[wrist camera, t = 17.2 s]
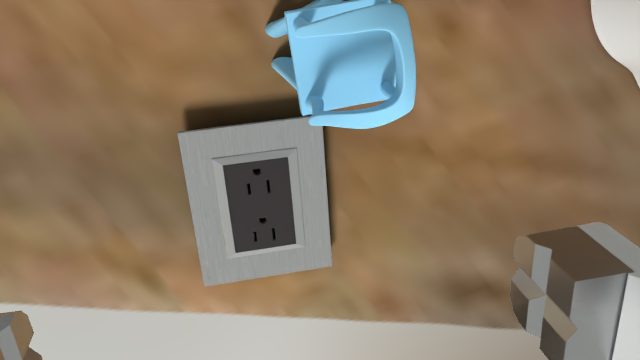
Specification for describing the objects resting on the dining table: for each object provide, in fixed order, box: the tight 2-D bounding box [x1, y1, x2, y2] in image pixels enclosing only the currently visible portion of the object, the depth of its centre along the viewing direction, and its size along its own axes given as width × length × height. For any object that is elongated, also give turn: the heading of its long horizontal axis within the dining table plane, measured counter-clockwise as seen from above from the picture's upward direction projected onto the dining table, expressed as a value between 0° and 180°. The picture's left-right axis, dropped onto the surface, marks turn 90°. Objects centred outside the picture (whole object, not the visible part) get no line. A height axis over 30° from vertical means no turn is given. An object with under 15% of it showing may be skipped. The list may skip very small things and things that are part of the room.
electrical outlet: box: [178, 116, 332, 286], centre depth 46 cm, size 13×10×2 cm
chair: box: [265, 0, 416, 129], centre depth 37 cm, size 8×8×12 cm
